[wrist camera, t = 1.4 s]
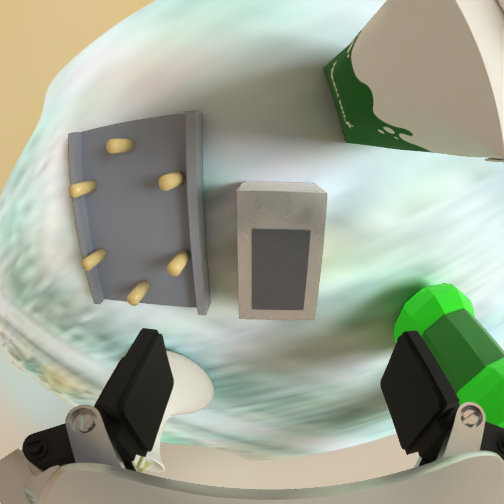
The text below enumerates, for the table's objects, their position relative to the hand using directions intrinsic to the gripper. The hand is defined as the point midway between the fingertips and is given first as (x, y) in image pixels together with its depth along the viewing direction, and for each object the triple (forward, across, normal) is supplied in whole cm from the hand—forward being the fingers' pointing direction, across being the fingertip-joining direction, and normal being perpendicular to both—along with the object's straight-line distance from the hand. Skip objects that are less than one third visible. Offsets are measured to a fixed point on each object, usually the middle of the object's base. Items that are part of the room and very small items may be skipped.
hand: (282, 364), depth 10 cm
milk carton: (+16, -8, -13) cm, 22 cm away
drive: (+16, 0, 0) cm, 16 cm away
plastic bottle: (+16, -17, +8) cm, 25 cm away
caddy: (+16, +13, -2) cm, 20 cm away
